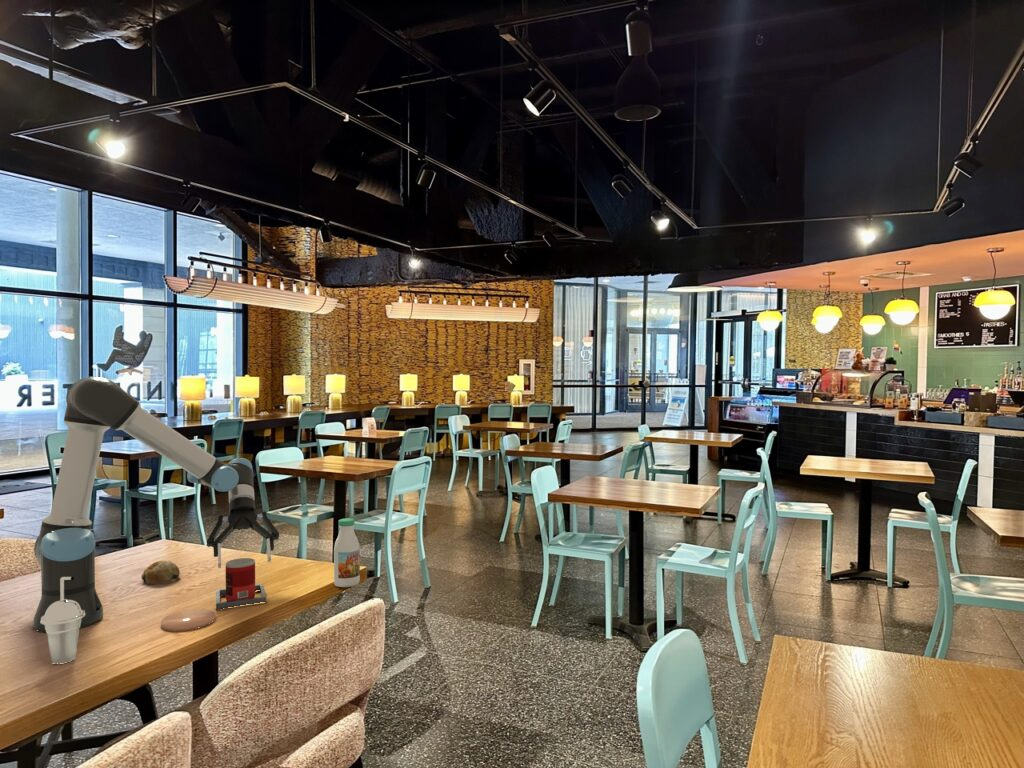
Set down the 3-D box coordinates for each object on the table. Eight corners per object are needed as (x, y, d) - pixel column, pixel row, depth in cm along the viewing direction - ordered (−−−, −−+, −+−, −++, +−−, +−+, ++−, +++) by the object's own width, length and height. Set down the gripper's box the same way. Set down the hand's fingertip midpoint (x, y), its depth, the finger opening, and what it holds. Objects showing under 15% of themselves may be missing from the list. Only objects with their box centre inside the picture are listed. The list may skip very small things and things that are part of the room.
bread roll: (162, 597, 203) (172, 574, 203) (132, 583, 203) (143, 559, 203) (178, 587, 213) (189, 564, 213) (150, 573, 213) (160, 551, 213)
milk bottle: (329, 586, 201) (329, 521, 201) (341, 579, 209) (341, 516, 208) (352, 588, 199) (352, 522, 199) (364, 581, 207) (363, 517, 207)
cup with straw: (87, 650, 155) (86, 565, 155) (83, 665, 147) (83, 575, 147) (43, 657, 151) (42, 570, 151) (37, 673, 143) (36, 581, 143)
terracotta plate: (180, 635, 164) (180, 631, 164) (149, 624, 171) (149, 621, 171) (226, 618, 175) (226, 614, 175) (196, 609, 182) (196, 606, 182)
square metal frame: (266, 603, 187) (266, 597, 187) (215, 610, 181) (215, 603, 181) (263, 589, 198) (263, 583, 198) (215, 595, 193) (215, 589, 193)
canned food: (261, 596, 193) (260, 558, 192) (242, 605, 185) (242, 566, 185) (238, 594, 195) (238, 557, 195) (219, 603, 187) (219, 564, 187)
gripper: (282, 505, 215) (288, 563, 202) (198, 512, 205) (198, 574, 192) (284, 492, 210) (290, 550, 197) (197, 498, 200) (197, 561, 187)
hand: (244, 562), depth 194 cm, fingers open, 13 cm apart
